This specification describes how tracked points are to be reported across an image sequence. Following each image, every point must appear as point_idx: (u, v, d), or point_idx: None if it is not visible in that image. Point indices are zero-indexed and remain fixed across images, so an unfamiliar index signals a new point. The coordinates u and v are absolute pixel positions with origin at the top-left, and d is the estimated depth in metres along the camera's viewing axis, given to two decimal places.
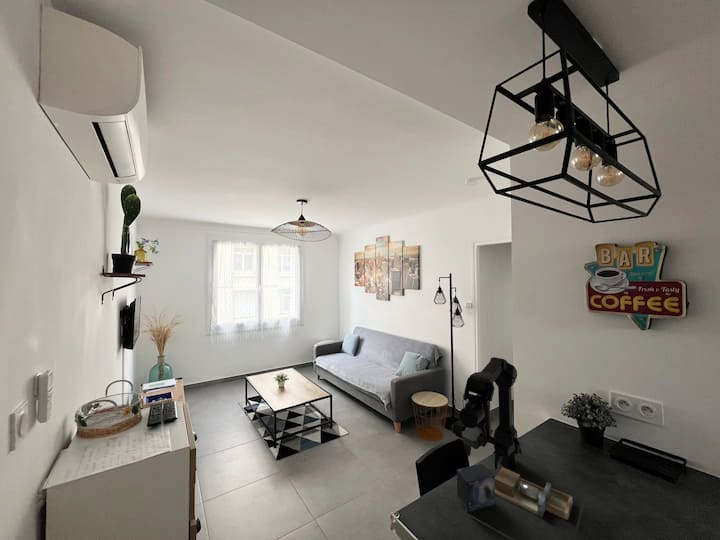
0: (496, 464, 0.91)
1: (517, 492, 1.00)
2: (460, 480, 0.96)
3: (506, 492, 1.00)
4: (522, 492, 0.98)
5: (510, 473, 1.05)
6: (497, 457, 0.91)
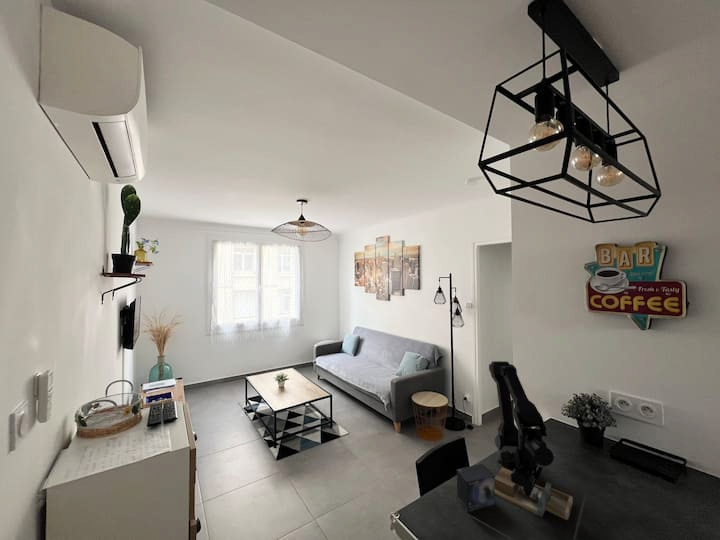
0: None
1: (517, 492, 1.00)
2: (460, 480, 0.96)
3: (506, 492, 1.00)
4: (522, 492, 0.98)
5: (510, 473, 1.05)
6: None
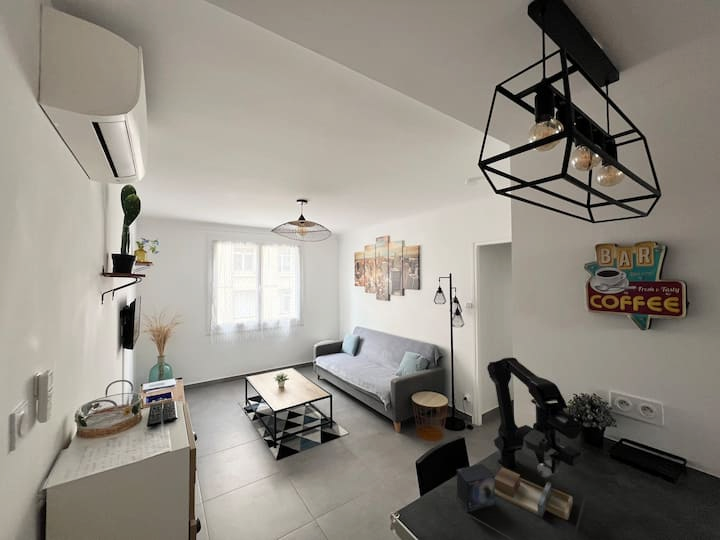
0: (553, 468, 0.93)
1: (517, 492, 1.00)
2: (460, 480, 0.96)
3: (506, 492, 1.00)
4: (549, 474, 0.93)
5: (510, 473, 1.05)
6: (554, 461, 0.92)
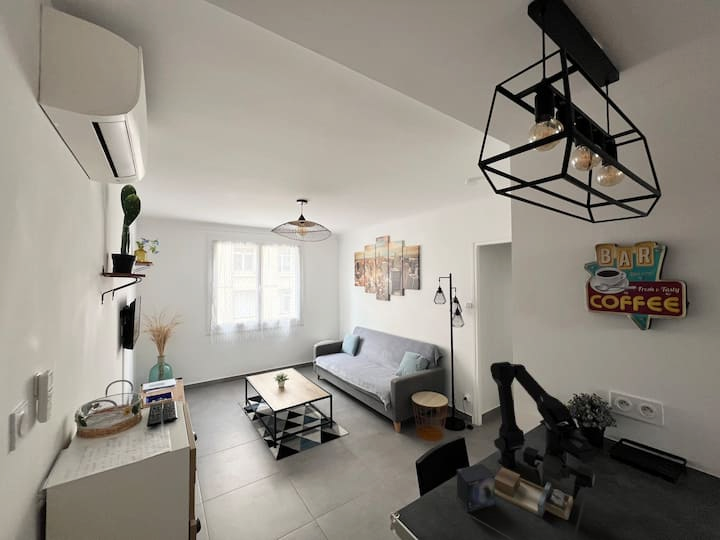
0: (575, 494, 0.90)
1: (517, 492, 1.00)
2: (460, 480, 0.96)
3: (506, 492, 1.00)
4: None
5: (510, 473, 1.05)
6: (577, 487, 0.90)
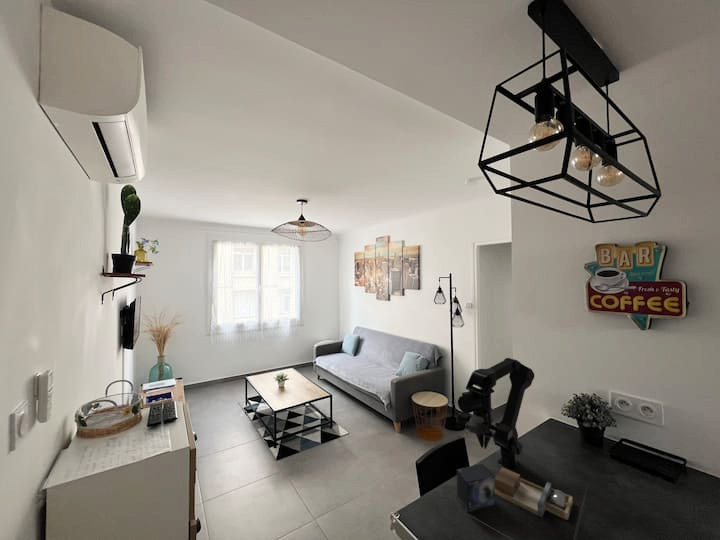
0: (485, 444, 1.07)
1: (517, 492, 1.00)
2: (460, 480, 0.96)
3: (506, 492, 1.00)
4: None
5: (510, 473, 1.05)
6: (486, 438, 1.06)
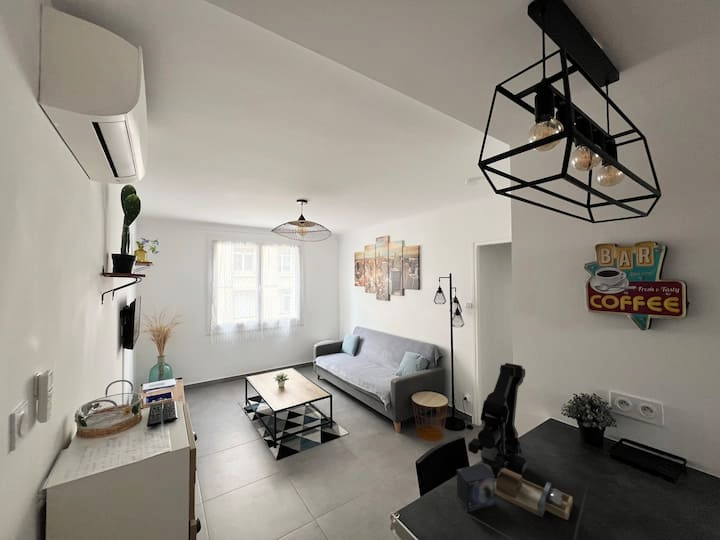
0: (497, 474, 1.05)
1: None
2: (460, 480, 0.96)
3: (508, 493, 0.99)
4: (561, 504, 0.92)
5: (512, 474, 1.04)
6: (498, 468, 1.04)
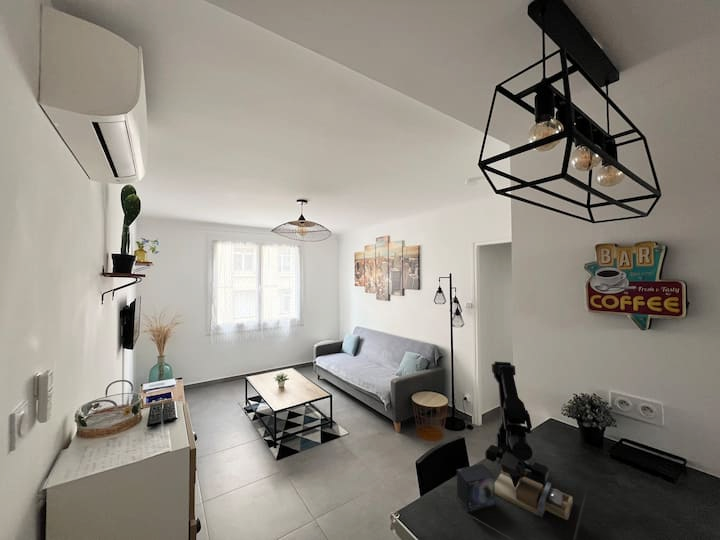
0: (516, 482, 1.00)
1: None
2: (460, 480, 0.96)
3: (529, 503, 0.95)
4: (561, 504, 0.92)
5: (532, 483, 1.00)
6: (518, 476, 0.99)
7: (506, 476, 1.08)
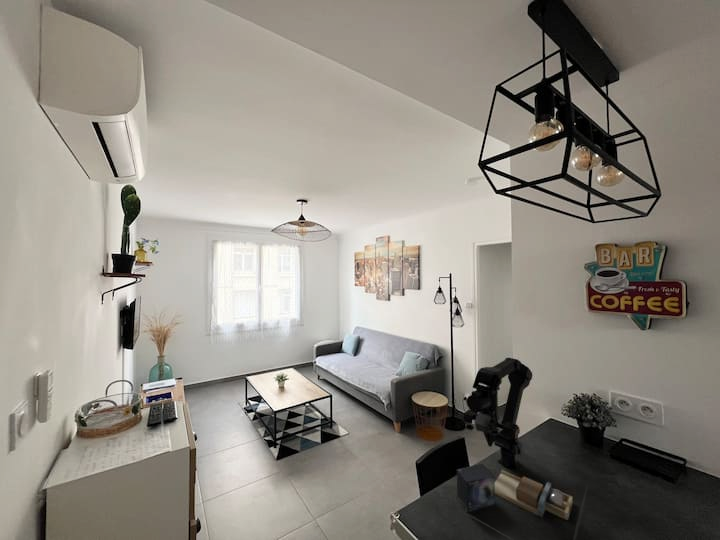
0: (491, 442, 1.07)
1: None
2: (460, 480, 0.96)
3: (529, 503, 0.95)
4: None
5: (532, 483, 1.00)
6: (492, 435, 1.06)
7: (506, 476, 1.08)
